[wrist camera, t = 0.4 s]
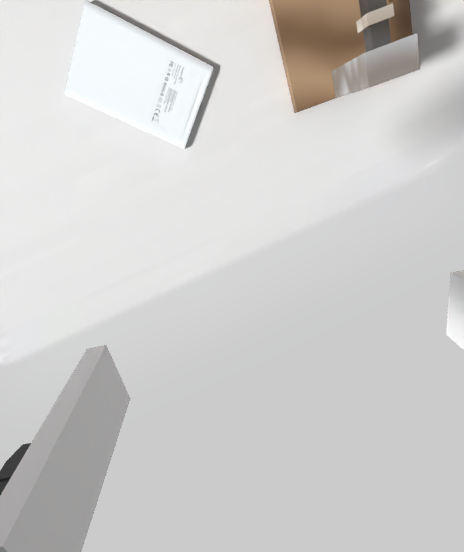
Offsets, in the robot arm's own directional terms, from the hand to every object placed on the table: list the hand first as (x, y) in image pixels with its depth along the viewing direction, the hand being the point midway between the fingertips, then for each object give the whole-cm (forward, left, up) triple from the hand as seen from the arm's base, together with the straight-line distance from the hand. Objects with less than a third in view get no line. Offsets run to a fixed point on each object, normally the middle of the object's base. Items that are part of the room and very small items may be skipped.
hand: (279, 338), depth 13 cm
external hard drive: (-15, -5, -28) cm, 32 cm away
